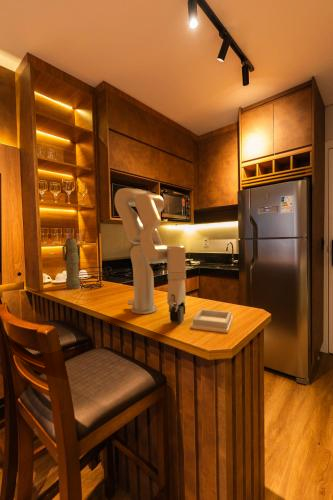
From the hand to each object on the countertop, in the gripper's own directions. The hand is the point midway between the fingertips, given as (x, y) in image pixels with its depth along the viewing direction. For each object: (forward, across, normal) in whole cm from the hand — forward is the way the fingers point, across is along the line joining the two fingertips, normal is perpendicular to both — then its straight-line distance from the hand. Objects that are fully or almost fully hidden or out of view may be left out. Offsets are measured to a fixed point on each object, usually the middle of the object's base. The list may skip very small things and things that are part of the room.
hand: (177, 317), depth 98 cm
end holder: (+2, -3, +14) cm, 14 cm away
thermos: (+1, -38, -91) cm, 99 cm away
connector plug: (+2, 0, 0) cm, 2 cm away
